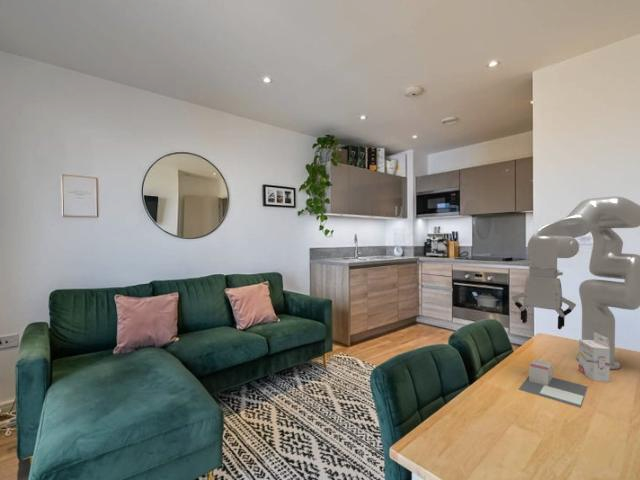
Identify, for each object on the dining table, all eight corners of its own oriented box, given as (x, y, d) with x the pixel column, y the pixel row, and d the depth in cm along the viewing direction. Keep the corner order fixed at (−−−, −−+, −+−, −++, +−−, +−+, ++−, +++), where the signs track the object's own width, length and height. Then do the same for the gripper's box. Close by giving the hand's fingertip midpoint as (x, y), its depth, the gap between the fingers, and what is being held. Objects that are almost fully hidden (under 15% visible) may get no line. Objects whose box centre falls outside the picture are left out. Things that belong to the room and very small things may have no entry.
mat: (531, 373, 111) (531, 371, 111) (587, 388, 100) (587, 385, 100) (518, 391, 98) (518, 388, 98) (580, 410, 88) (580, 407, 88)
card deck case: (534, 373, 110) (534, 358, 110) (552, 378, 106) (552, 363, 106) (529, 381, 104) (529, 365, 104) (547, 386, 100) (547, 370, 100)
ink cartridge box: (577, 371, 113) (578, 330, 113) (593, 373, 112) (594, 331, 112) (592, 382, 105) (593, 337, 104) (610, 384, 104) (611, 339, 103)
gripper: (577, 275, 101) (576, 328, 101) (515, 270, 113) (514, 318, 113) (574, 276, 96) (573, 333, 96) (509, 271, 108) (508, 322, 108)
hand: (541, 325), depth 105 cm, fingers open, 9 cm apart
